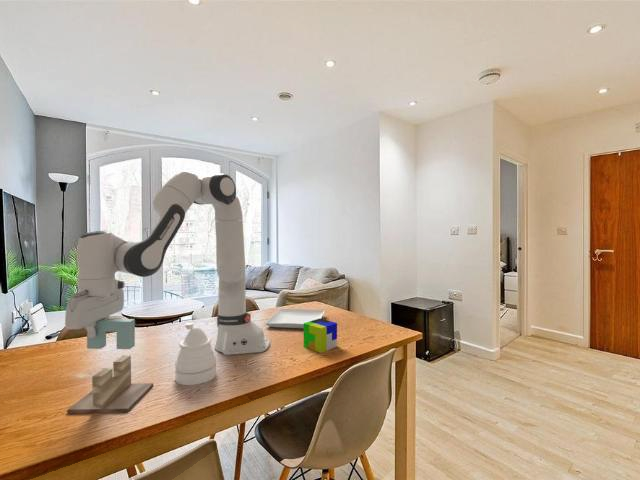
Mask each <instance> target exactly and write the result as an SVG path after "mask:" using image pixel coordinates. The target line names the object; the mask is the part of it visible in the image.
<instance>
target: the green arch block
mask: <svg viewBox="0 0 640 480" xmlns="http://www.w3.org/2000/svg"><path fill="white" fill-rule="evenodd" d="M135 325H136V320H135V319H134V318H109V319H101V320H99V321H96V325H95V326H94V327H95V330H98V336H96V337H94V338H89V337H88V332H87V331H86V349H87V350H89V349H90V350H92V349H93V350H98V349H99V350H101V349H102V348H104V347H107V333H108V332H109V333H114V332H116V350H131V349H133V348H134V347H135V345H136V344H135V343H136V342H135V340H136V339H135V338H136V334H135V333H136V332H135V331H136V326H135Z"/></svg>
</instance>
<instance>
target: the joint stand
mask: <svg viewBox="0 0 640 480" xmlns="http://www.w3.org/2000/svg"><path fill="white" fill-rule="evenodd" d="M131 359H132V355H131V354H129V355H125V354H123V355H121V356H120V357H118V358H116V359H115V360H114V361H113V362H112V363H113V364H112V365H113V366H112V367H113V368H102V369H101V370H99V371H97V372H96V373H95V374H94V375H92V376H91V380H92V381H91V383H92V385H91V386H92V390H91V391H90V392H89V393H87V394H86V395H85V396H83V397H82V398H81V399H80V400H78V401H77V402H75V403H74V404H72V405H71V406H70V407H69V408H68V409H67V410H66V411H67V414H96V413H97V414H101V413H129V412H130V411H131V410H132V409H133V408H134V407H135V406H136V405H137V404H138V403H139V402H140V400H142V399H143V397H145V395H147V393H148V392H149V391H150V390H151V389H153V387H154V383H152V382H151V383H150V382H146V383H144V382H143V383H138V382H137V383H132V362H131V361H132V360H131Z"/></svg>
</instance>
